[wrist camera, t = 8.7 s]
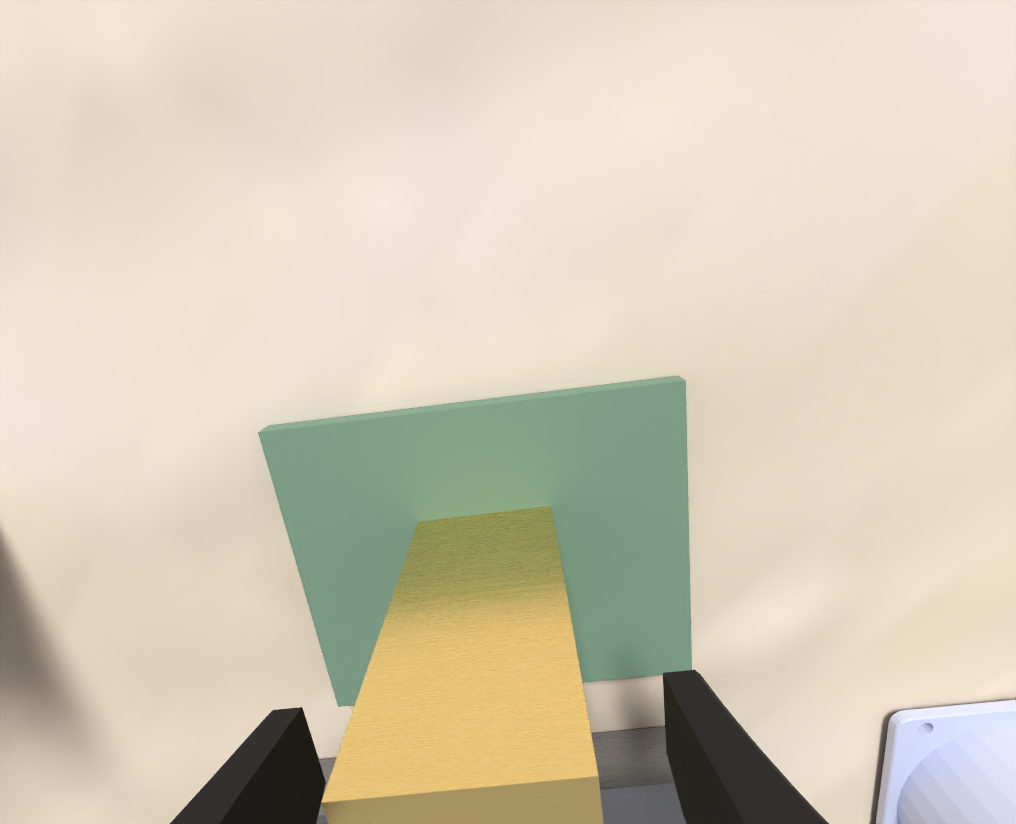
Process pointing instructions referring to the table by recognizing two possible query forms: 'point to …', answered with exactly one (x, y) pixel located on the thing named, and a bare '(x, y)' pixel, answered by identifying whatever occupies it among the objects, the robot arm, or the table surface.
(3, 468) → the table surface
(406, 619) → the brass peg
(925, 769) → the robot arm
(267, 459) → the mat
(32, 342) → the table surface
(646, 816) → the grey slotted block
